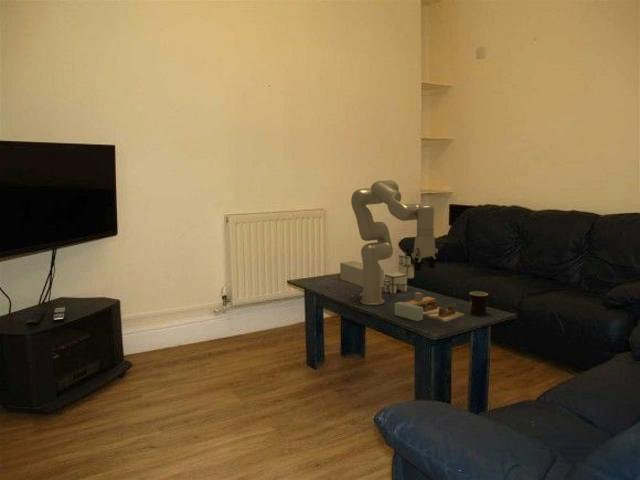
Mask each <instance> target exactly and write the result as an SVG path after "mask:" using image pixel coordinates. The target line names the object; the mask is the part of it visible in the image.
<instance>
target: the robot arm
mask: <svg viewBox="0 0 640 480" xmlns="http://www.w3.org/2000/svg"><path fill="white" fill-rule="evenodd" d="M401 200H402V194H401V192H400V190H399V185H398V183H397V182H396V181H394V180H377V181H375V182H373V183H372V185H371V186H370V188H369V187H368V188H360V189H356V190H354V192H353V193H352V195H351V198H350V201H351V203H350V204H351V208H352V210H353V212H354V213H353V214H354V216H355V219H356V223H357V227H358V231H359V236H360V238H361V240H362V241H364V242H365V241H366V242H370V241H371V242H370V243H366V244H364V245H363V246H362V247H361V251H360V256H361V261H362V263H363V287H362V288H363V291H361V293H359V296H360V297H361V299H360V303H361V304H362V305H364V306H365V305H366V306H380V305H384V304H385V303H386V301H385V299H384V298H382V287H381V269H382V268H381V265H380V263H379V261H383V260H388V259H390V258H392V257H393V254H394V249H393V244H392V240H391V239H392V238H391V235H390V230H389V228H388V227H389V226H387V225H386V223H385V222H383V221H374V217H373V214H372V212H371V210H370V209H369V207H367V205H369V206H370V205H380V204H386V205H387V209H388V212H389V214H391V216H393V217H395V218H396V219H397V220H399V221H402V222H407V221H416V235H415V238H414V244H413V252H411V258H412V260H413V263H414V271H416V272H421V271H422V262H421V261H422V259H424V258H428V268H430V269H431V268H432V269H435V267H436V259H437V256H438V251H439V249H438V248H437V247H436V242H435V241H436V239H435V235H434V234H435V233H434V232H435V229H434V227H435V226H434V225H435V220H434V218H435V211H434V210H435V208H434V206H433V205H430V204H422V203H407V204H403V203H401ZM372 241H377V242H372Z"/></svg>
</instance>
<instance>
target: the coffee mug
mask: <svg viewBox="0 0 640 480" xmlns="http://www.w3.org/2000/svg"><path fill="white" fill-rule="evenodd" d="M488 297H489V293H487V292H484V291H479V290H477V291H475V290H474V291H470V292H469V301H470V302H469V303H470V313H471V315H473V316H475V317H481V316H486V311H487V305H488Z"/></svg>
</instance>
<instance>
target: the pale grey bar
mask: <svg viewBox="0 0 640 480" xmlns="http://www.w3.org/2000/svg"><path fill="white" fill-rule="evenodd" d="M394 315H395V316H398V317H401V318H404V319H405V318H406V319H409V320H412V321H416V322H419V321H422V320H424V316H423V307H421V305H419V306H416V305H412V304H408V303H405V302H404V301H398V302H395V303H394Z"/></svg>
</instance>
